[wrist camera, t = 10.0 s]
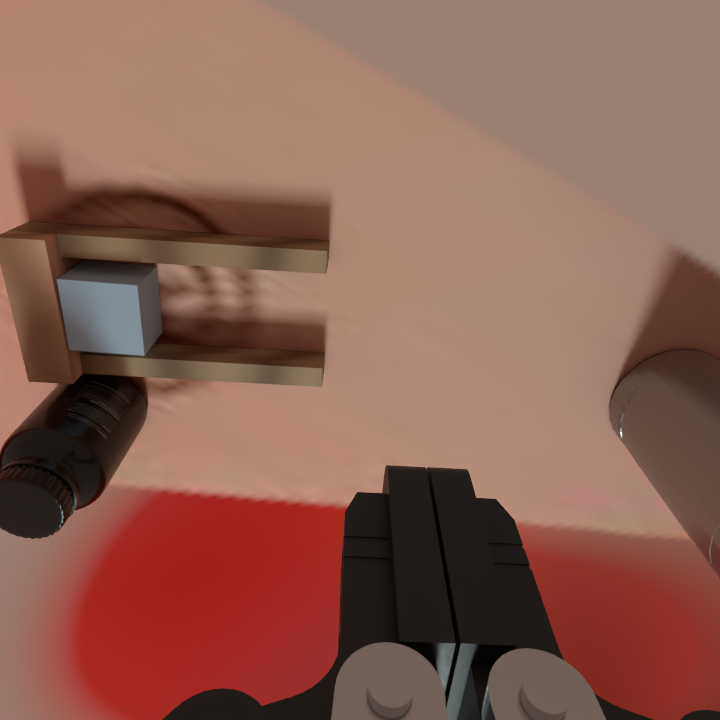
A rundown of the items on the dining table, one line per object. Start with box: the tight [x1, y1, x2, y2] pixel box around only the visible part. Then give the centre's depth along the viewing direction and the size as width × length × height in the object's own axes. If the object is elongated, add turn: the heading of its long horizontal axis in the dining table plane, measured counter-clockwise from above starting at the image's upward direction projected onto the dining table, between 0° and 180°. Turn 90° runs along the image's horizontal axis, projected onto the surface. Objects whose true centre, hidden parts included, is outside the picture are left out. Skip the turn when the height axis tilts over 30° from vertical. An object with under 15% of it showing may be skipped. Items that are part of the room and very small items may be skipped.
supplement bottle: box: [0, 373, 147, 539], centre depth 38 cm, size 7×7×12 cm
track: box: [0, 222, 329, 387], centre depth 38 cm, size 20×10×4 cm, turn 86°
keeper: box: [57, 261, 163, 356], centre depth 38 cm, size 5×5×4 cm
